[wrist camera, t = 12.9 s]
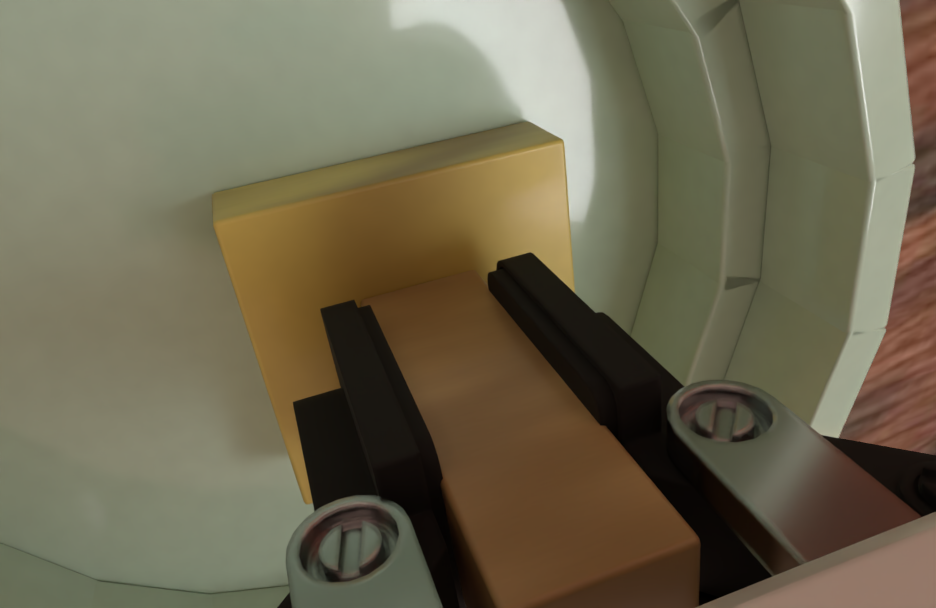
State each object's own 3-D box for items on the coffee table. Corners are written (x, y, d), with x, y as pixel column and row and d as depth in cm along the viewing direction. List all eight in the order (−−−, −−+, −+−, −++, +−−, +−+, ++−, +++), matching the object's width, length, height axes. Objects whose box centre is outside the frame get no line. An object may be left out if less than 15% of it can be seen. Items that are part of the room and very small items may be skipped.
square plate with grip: (529, 119, 13) (894, 316, 6) (554, 377, 16) (826, 711, 9) (209, 191, 12) (224, 535, 5) (295, 457, 14) (381, 915, 8)
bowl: (696, 478, 20) (834, 628, 15) (-16, 730, 16) (-96, 1024, 11) (727, -393, 11) (1056, -597, 7) (-805, -307, 7) (-2228, -652, 3)
